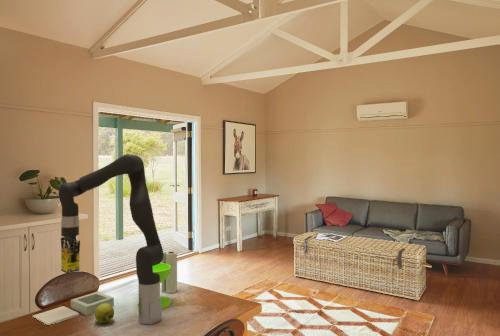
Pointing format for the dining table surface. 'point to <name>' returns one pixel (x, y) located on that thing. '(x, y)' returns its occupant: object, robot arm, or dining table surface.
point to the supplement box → (68, 261)
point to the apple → (104, 313)
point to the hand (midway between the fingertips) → (70, 260)
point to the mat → (56, 315)
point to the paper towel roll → (171, 280)
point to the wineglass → (163, 272)
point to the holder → (84, 302)
